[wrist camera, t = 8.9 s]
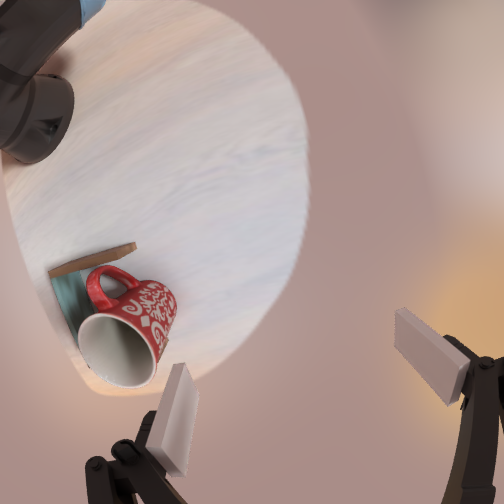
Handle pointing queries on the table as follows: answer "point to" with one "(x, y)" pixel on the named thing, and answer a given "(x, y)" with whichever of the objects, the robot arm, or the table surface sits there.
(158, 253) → the table surface
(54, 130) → the robot arm
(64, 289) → the dock
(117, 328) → the mug
